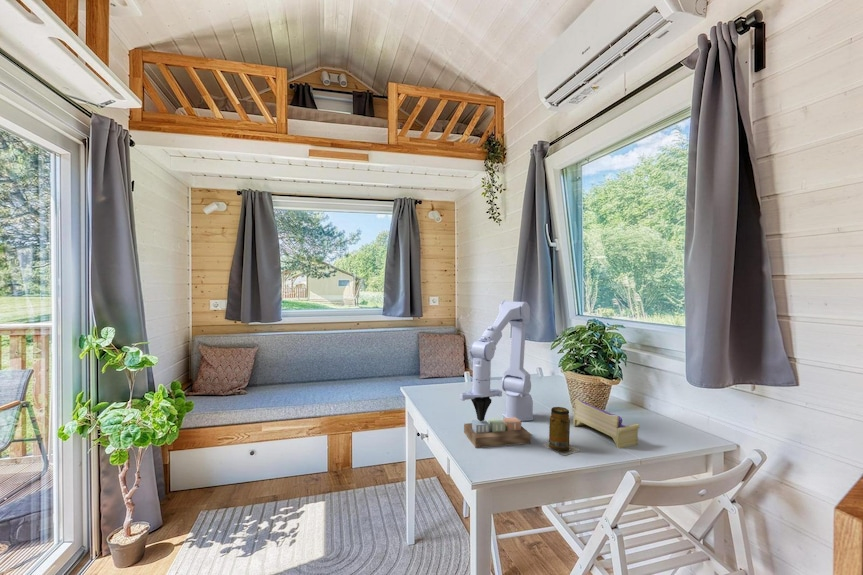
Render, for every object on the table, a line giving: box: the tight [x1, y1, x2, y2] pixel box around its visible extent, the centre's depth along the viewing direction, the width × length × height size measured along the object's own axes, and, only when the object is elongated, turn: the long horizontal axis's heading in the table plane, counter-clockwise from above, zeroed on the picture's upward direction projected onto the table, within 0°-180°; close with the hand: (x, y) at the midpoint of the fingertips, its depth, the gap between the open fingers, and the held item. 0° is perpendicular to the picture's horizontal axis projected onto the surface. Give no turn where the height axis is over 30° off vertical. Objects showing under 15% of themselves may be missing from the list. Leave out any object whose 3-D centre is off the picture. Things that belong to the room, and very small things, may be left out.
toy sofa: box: [572, 398, 640, 449], centre depth 135 cm, size 21×9×10 cm, turn 24°
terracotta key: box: [502, 417, 522, 431], centre depth 132 cm, size 4×4×3 cm
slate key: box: [471, 418, 489, 433], centre depth 129 cm, size 4×4×3 cm
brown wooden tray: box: [463, 422, 532, 449], centre depth 131 cm, size 18×12×3 cm, turn 102°
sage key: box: [487, 417, 506, 432], centre depth 131 cm, size 4×4×3 cm
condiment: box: [542, 406, 581, 456], centre depth 124 cm, size 7×8×12 cm
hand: (480, 419), depth 129 cm, fingers closed
